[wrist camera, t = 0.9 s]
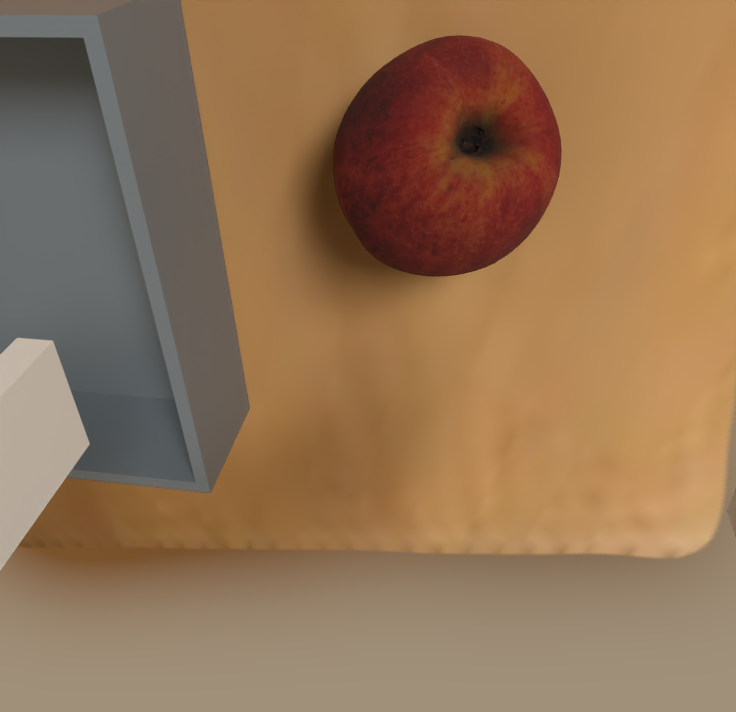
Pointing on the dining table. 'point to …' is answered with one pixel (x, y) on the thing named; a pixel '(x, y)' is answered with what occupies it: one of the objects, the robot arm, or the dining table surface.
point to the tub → (117, 236)
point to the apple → (447, 157)
